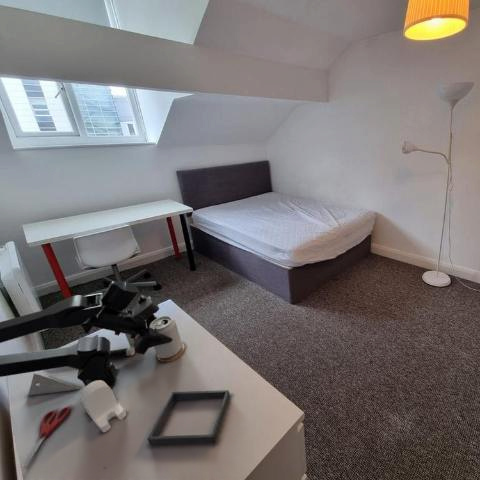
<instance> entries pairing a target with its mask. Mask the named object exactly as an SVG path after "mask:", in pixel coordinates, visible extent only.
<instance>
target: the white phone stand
mask: <svg viewBox="0 0 480 480" xmlns="http://www.w3.org/2000/svg"><path fill="white" fill-rule="evenodd" d="M79 399H80V401H81V402H82V404H83V406H84V409H85V411H86V413H87V414H88V415H89V417H90V418H91V419H92V421H93V422H94V423H95V424H96V426H97V427H98V428H99V430H100V431H101V433H106V432H107V431H109V430H110V429H111V428H112V426H111V425H110V423H109V421H110V420H111V419H113V418H114V417H116V418H117V419H118V420H119V421H122V420H123V419H124V418H125V417H126V416H127V413H126V411H125V408H124V407H122V405H121V404H120V403H119V401H118V400H117V398H116V396H115V394H114V392H113V390H112V387H109V386H108V385H107V384H106V383H105V382H104V381H102V380H98V381H94V382H92V383H90V384H88V385H87V386H86V387H83V389H82V390H81V392H80V395H79Z"/></svg>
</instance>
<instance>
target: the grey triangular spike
mask: <svg viewBox="0 0 480 480" xmlns="http://www.w3.org/2000/svg"><path fill="white" fill-rule="evenodd" d="M77 390H80V387H78V386H75V385H72V384H69V383H66V382H63V381H60V380H59V379H55V378H52V377H48V376H46V375H42V374H40V373H36V372H33V377H32V379H31V383H30V386H29V390H28V394H27V395H28V396H34V395H36V396H37V395H45V394H52V393H59V392H69V391H77Z"/></svg>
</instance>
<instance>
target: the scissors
mask: <svg viewBox="0 0 480 480" xmlns="http://www.w3.org/2000/svg"><path fill="white" fill-rule="evenodd" d="M71 409H72V408H71V406H66V407H63V408H62V409H60V410H59V412H58V413H57V411H56V410H51V411H48V412H47V413H46V414H45V415H44V416H43V418H42V420H41V423H40V434H39V439H38V442H37V443H36V445H35V447H34V449H33V450H32V453H31V454H30V455H29V457H28V459H27V461H26V463H25V465H24V466H23V468H24V469H25V468H26V467H27V466H28V464H29V463H30V462H31V460H32V458H33V457H34V455H35V453H36V452H37V450H38V449H39V447H40V446H41V444H42V443H43V441H44V440H45V439H46V438H48V437H49V436H50V434H51V433H52V432H53V431H54V430H55V429H56V428H57V427H58V426H59V425H60V424H61V423H63V421H64V420H65V419H66V418H67V417H68V415H69V414H70V412H71ZM64 412H65V413H64ZM63 413H64V414H63ZM62 414H63V415H62ZM61 415H62V416H61ZM49 416H51V417H49ZM48 417H49V419H48ZM47 419H48V420H47ZM46 420H47V422H46Z"/></svg>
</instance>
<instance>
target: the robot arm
mask: <svg viewBox="0 0 480 480" xmlns="http://www.w3.org/2000/svg"><path fill="white" fill-rule="evenodd" d="M107 287H108V288H107V289H106V290H105V292H99V293H93V294H88V295H81V294H78V295H77V294H76V295H73V296H72V295H71V296H70V297H67V298H65V299H62V300H60V301H57V302H56V303H54V304H52V305H50V306H49V307H46V308H44V309H42V310H39V311H36V312H31V313H29V314H25V315H20V316H18V317H13V318H10V319H6V320H1V321H0V344H2V343H5V342H9V341H11V340H12V341H13V340H15V339H18V338H22V337H26V336H28V335H31V334H34V333H38V332H41V331H46V330H49V329H50V330H51V329H56V330H63V329H69V328H73V327H77V326H81V328H82V329H83V332H84V334H89V332H90V331H91V330H92V328H98V329H103V330H107V331H111V332H114V336H120V335H121V334H124V335H125V334H129V335H130V338H132V339H134V338H135V337H136V335H139V336H138V338H137V339H136V340H135V342H134V350H135V354H136V355H142V356H143V355H146V352H147V351H148V350H149V349H151V348H154V346H158V345H162V344H166V343H170V342H171V341H172V340H173V339H172V338H170V337H167V336H165V335H162V334H159V333H158V332H157V329H156V328H155V329H152V328H150V324H151V323H152V321H154V320H155V319H157V318H158V316H156V315H155V314H157V312H158V311H159V310H160V306H159V303H158V302H157V301H155V300H154V297H153V296H150V295H149V296H147V295H140V296H139V297H138V298H137V301H138V303H137V304H136V307H134V308H128V307H129V305H130V304H131V302H132V301H133V300H134V299H135V297H136V296H137V294H138V293H139V291H140V290H139V288H138V286H137V285H134V284H133V283H130V282H127V281H114V280H113V281H111V282H110V283H109V284H108V286H107ZM92 305H93V306H92ZM163 325H165V324H163ZM110 351H111V341H110V339H108V338H106V337H105V336H99V335H98V334H96V335H94V336H81V337H79V338H78V342H77V343H74V344H73V345H70V346H65V347H57V348H50V349H41V350H34V351H26V352H18V353H11V354H3V355H0V378H3V377H9V376H10V377H11V376H15V375H22V374H27V373H28V374H29V373H36V372H40V371H47V370H53V369H59V368H65V367H66V368H72V369H76V370H77V376H76V377H77V379H78V380H80V381H81V382H82V383H83V386H85V387H86V386H87V385H88V384H90V383H92V382H94V381H98V380H102V381H104V382H105V383H106V384H107V385H108V386H109V387H110V388H112V387H113V386H114V383H115V380H116V378H117V375H118V368H116V367H115V365H114V363H113V362H111V359H110ZM85 387H84V388H85Z"/></svg>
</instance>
